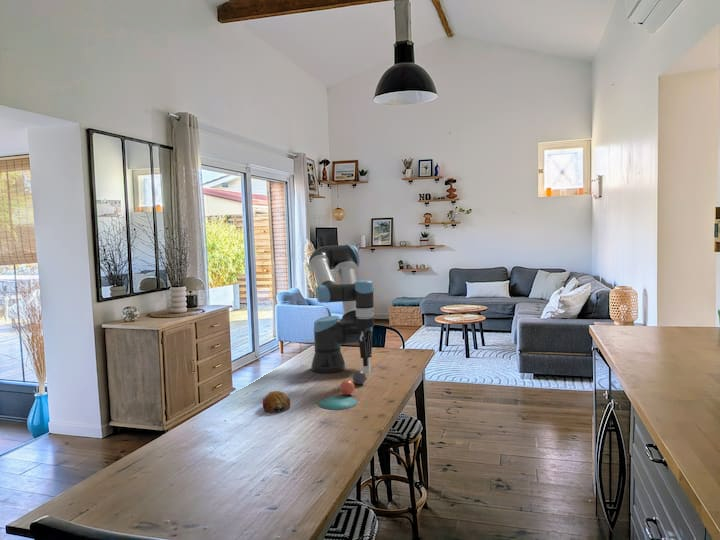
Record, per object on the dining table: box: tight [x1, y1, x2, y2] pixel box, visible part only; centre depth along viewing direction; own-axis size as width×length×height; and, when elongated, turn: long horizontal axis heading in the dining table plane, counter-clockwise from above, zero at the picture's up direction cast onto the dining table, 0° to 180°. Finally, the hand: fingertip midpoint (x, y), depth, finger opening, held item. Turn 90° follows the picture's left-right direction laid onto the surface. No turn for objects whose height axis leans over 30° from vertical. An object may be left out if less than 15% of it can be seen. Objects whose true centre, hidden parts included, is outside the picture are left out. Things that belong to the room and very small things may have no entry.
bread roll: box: [262, 390, 291, 414], centre depth 189 cm, size 10×10×8 cm
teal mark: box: [318, 395, 358, 411], centre depth 192 cm, size 14×14×1 cm
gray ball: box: [352, 370, 367, 385], centre depth 214 cm, size 6×6×6 cm
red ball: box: [339, 379, 355, 396], centre depth 201 cm, size 6×6×6 cm
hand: (366, 372), depth 223 cm, fingers closed
